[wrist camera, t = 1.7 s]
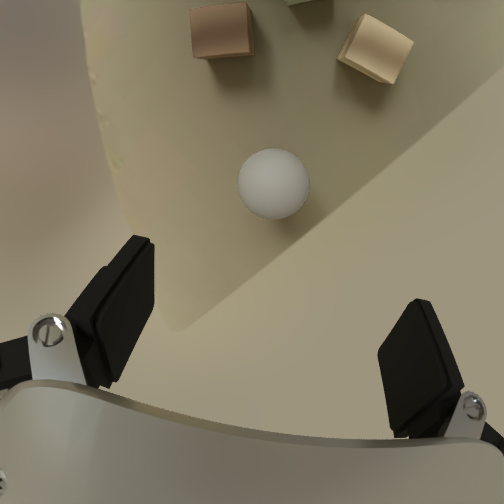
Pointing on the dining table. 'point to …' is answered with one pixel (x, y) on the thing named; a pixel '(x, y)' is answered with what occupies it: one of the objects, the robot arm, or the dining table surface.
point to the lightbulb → (273, 183)
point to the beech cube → (375, 49)
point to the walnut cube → (222, 31)
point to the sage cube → (295, 1)
